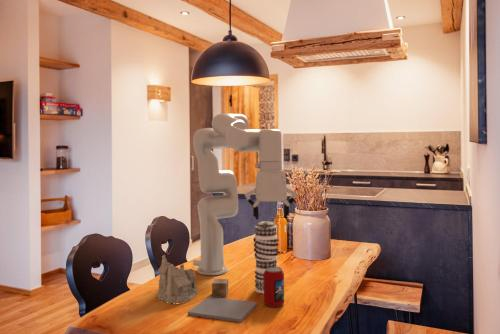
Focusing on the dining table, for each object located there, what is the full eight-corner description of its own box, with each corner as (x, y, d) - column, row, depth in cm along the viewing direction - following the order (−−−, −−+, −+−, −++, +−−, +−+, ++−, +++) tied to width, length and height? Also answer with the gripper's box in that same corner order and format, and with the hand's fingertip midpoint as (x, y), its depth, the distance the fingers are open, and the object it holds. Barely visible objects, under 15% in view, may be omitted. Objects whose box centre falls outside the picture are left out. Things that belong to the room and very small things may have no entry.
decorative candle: (261, 295, 157) (260, 225, 156) (249, 288, 165) (248, 221, 164) (283, 291, 161) (283, 222, 160) (271, 284, 169) (270, 219, 168)
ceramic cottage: (167, 306, 148) (168, 261, 148) (150, 294, 162) (151, 252, 162) (209, 299, 156) (210, 257, 156) (190, 289, 170) (190, 249, 170)
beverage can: (282, 308, 145) (282, 272, 144) (262, 307, 146) (261, 271, 145) (285, 301, 151) (285, 266, 151) (265, 300, 153) (265, 265, 152)
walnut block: (212, 297, 157) (211, 283, 156) (214, 292, 162) (214, 278, 161) (226, 297, 156) (226, 283, 156) (228, 292, 161) (228, 279, 161)
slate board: (187, 315, 140) (187, 311, 140) (208, 299, 154) (208, 296, 154) (240, 322, 134) (240, 319, 134) (257, 305, 148) (257, 302, 148)
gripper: (245, 168, 142) (246, 221, 143) (298, 166, 144) (299, 219, 145) (243, 166, 150) (244, 217, 151) (294, 165, 152) (294, 215, 152)
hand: (271, 218), depth 148 cm, fingers open, 9 cm apart
